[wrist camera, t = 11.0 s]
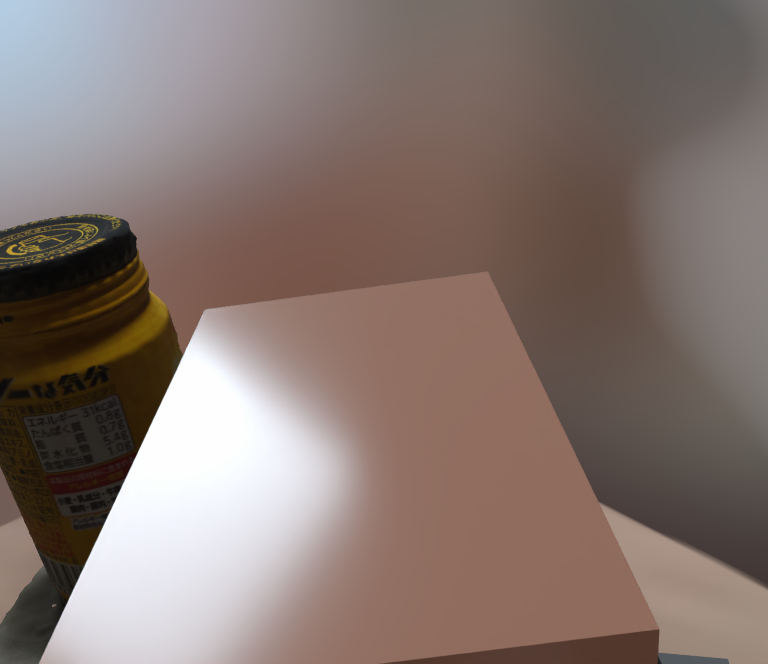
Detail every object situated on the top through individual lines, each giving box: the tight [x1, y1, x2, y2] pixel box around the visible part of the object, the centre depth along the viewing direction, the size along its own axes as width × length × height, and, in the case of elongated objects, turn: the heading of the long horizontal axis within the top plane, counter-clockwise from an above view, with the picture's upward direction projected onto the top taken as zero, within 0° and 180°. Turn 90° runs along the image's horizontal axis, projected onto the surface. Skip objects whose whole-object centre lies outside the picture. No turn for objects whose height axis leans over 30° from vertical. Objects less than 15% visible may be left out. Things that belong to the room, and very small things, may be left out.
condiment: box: [0, 214, 183, 664], centre depth 22 cm, size 7×8×12 cm
